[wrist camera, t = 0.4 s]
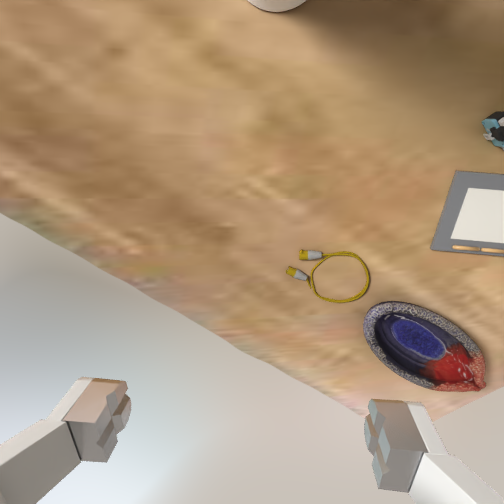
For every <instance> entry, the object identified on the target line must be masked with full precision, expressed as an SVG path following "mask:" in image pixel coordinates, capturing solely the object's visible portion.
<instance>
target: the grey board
mask: <svg viewBox="0 0 504 504" xmlns="http://www.w3.org/2000/svg"><path fill="white" fill-rule="evenodd" d="M430 249H432V250H440V251H451V252H462V253H474V254H485V255H496V256H504V174H493V173H480V172H467V171H456V172H455V175H454V178H453V181H452V184H451V187H450V190H449V193H448V196H447V199H446V202H445V205H444V208H443V211H442V214H441V217H440V220H439V223H438V226H437V229H436V232H435V235H434V238H433V241H432V244H431V247H430Z"/></svg>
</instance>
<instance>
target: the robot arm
mask: <svg viewBox="0 0 504 504" xmlns="http://www.w3.org/2000/svg"><path fill="white" fill-rule="evenodd" d="M248 1H249V2H250V3H251V4H253V5H254V6H256V7H258V8H260V9H263V10H266V11H271V12H282V11H287V10H290V9H293V8H295V7H297V6H299V5H300V4H302V3H303V2H305V1H306V0H248ZM127 389H128V388H127V384H126V382H125V381H119V380H110V379H99V378H87V377H81V378H79V379H78V380H77V381H76V382H75V383H74V384H73V386H72V387H71V388H70V389H69V391H68V392H67V393H66V394H65V396H64V397H63V398H62V399H61V401H60V402H59V403H58V404H57V406H56V407H55V408H54V410H53V411H52V412H51V413H50V415H49V416H48V417H47V418H46V420H42V419H41V420H39V421H38V422H36V423H35V424H33V425H31V426H30V427H28V428H27V429H25V430H23V431H22V432H20V433H19V434H17V435H15V436H14V437H12V438H11V439H9V440H7V441H6V442H4V443H2V444H1V445H0V504H36V503H37V502H38V501H39V500H40V499H41V498H42V497H44V496H45V495H46V494H47V493H48V492H49V491H50V490H51V489H52V488H53V487H54V486H56V485H57V484H58V483H59V482H60V481H61V480H62V479H63V478H64V477H65V476H66V475H68V474H69V473H70V472H71V471H72V470H73V469H74V468H75V467H76V466H77V465H78V464H80V463H81V461H93V462H107V461H108V459H109V457H110V455H111V453H112V451H113V449H114V448H115V446H116V444H117V442H118V441H117V435H116V434H118V433H119V432H120V431H121V430H123V429H124V428H125V426H126V424H127V422H128V419H129V416H130V411H131V400H130V398H129V397H128V396H127V395H126V394H125V393H126V391H127ZM368 409H369V412H370V414H369V415H367V416H366V418H365V424H364V425H365V426H364V428H365V429H364V430H365V439H366V443H367V447H368V450H369V451H370V452H371V453H372V454H373V456H374V459H373V462H372V466H373V470H374V474H375V477H376V481H377V485H378V489H384V490H392V491H400V492H408V493H409V495H410V497H411V498H412V499H413V500H414V502H415V503H416V504H504V498H502V497H501V496H500V495H499V494H498V493H497V492H496V491H494V490H493V489H492V488H491V487H490V486H489V485H488V484H487V483H485V482H484V481H483V480H482V479H481V478H480V477H479V476H477V475H476V474H475V473H474V472H473V471H472V470H471V469H469V468H468V467H467V466H466V465H465V464H464V463H463V462H462V461H460V460H459V459H458V458H457V457H456V456H455V455H449V453H448V451H447V449H446V447H445V446H444V444H443V442H442V440H441V438H440V436H439V434H438V432H437V430H436V428H435V426H434V424H433V422H432V420H431V418H430V416H429V414H428V412H427V410H426V409H425V407H424V405H423V404H422V403H421V402H409V401H398V400H382V399H371V400H370V401H369V405H368Z"/></svg>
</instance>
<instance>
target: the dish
mask: <svg viewBox="0 0 504 504" xmlns="http://www.w3.org/2000/svg"><path fill="white" fill-rule="evenodd" d="M363 330H364V335H365V338H366V340H367V343H368V344H369V346H370V348H371V350H372V351H373V352H374V354H375V355H376V356H377V357H378V358H379V360H380V361H381V362H383V363H384V364H385V365H386V366H387V367H388V368H390V369H391V370H392V371H393V372H395V373H396V374H398V375H399V376H401V377H403V378H405V379H406V380H408V381H410V382H412V383H414V384H416V385H419V386H422V387H424V388H428V389H431V390H437V391H456V392H465V391H474V390H475V391H480V390H481V389H482V388H485V386H486V383H485V382H484V381H483V379H484V375H485V361H484V357H483V355H482V352H481V350H480V349H479V348H478V346H477V345H476V344H475V343H474V341H473V340H472V339H471V338H470V337H469V336H468V335H467V334H466V333H465V332H463V331H462V330H461V329H460V328H458V327H457V326H456V325H454V324H453V323H451V322H450V321H448V320H447V319H445V318H443V317H442V316H440V315H438V314H436V313H434V312H432V311H430V310H427V309H424V308H422V307H419V306H416V305H413V304H410V303H405V302H398V301H387V302H381V303H379V304H376V305H375V306H373V307H371V309H370V310H369V311H368V312H367V314H366V317H365V319H364V323H363Z"/></svg>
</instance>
